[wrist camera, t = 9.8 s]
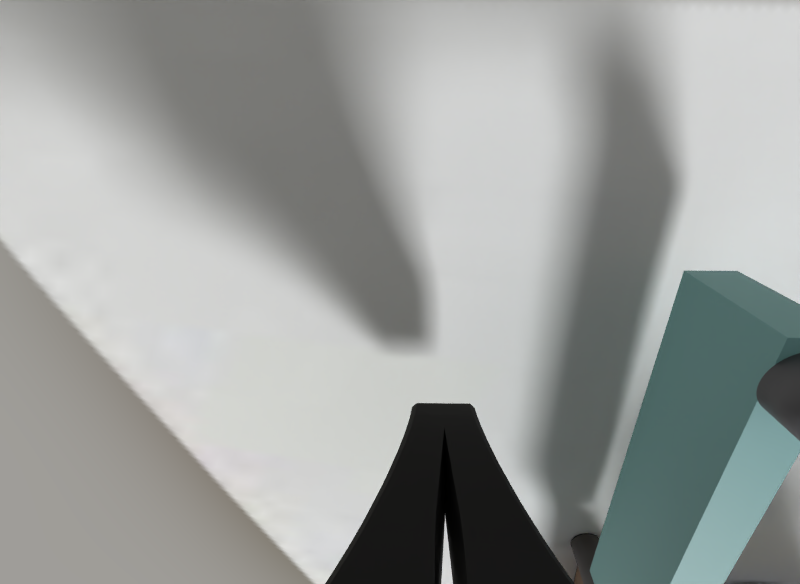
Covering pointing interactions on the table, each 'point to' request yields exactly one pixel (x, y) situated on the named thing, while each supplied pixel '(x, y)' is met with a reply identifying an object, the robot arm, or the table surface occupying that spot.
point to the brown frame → (584, 556)
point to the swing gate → (706, 435)
